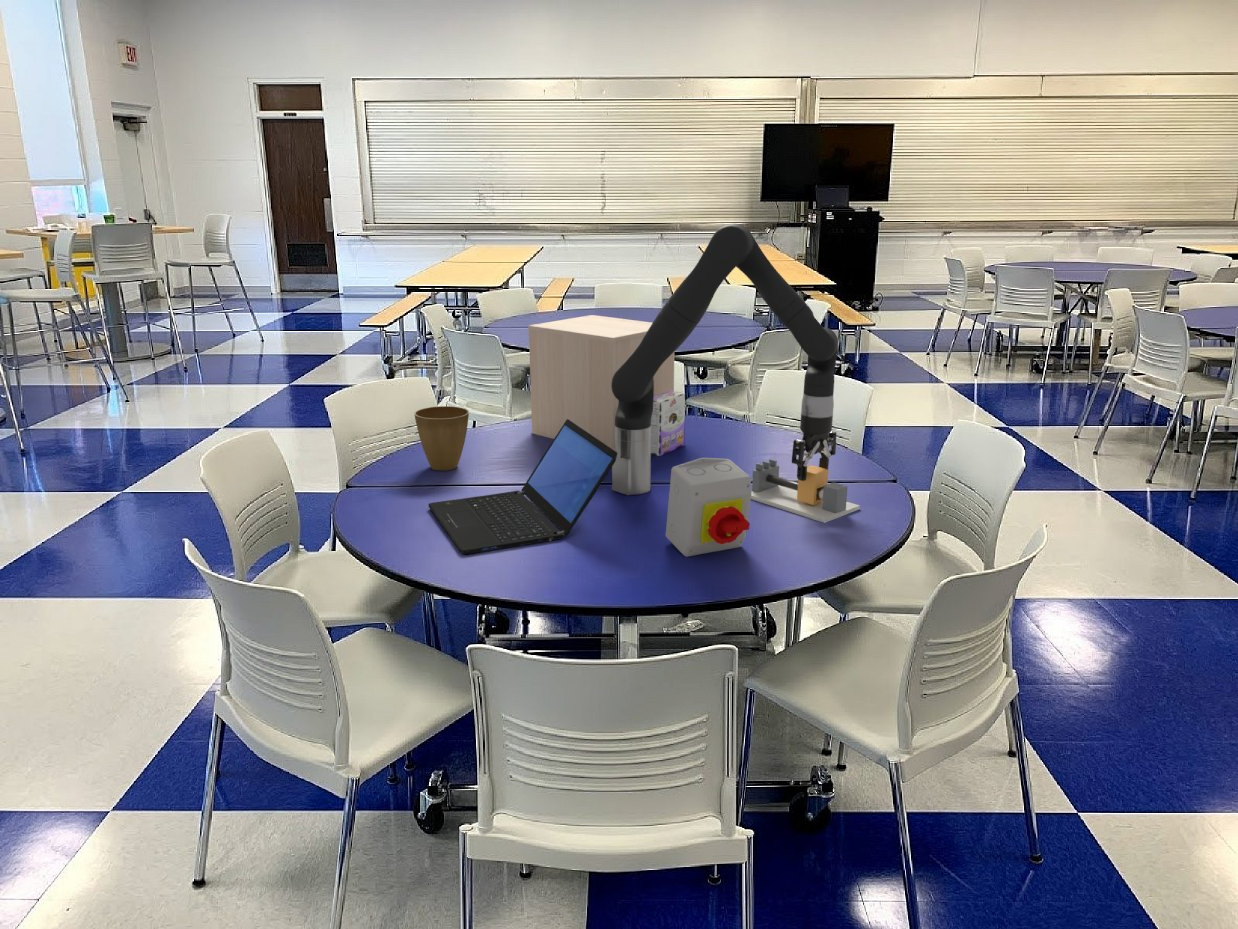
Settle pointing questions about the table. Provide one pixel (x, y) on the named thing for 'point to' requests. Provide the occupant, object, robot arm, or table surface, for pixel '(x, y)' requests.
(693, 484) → the electrical switch box
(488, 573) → the table surface
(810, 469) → the sleeve
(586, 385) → the cabinet
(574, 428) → the laptop
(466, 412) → the plant pot
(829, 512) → the cord rig
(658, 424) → the candy box
